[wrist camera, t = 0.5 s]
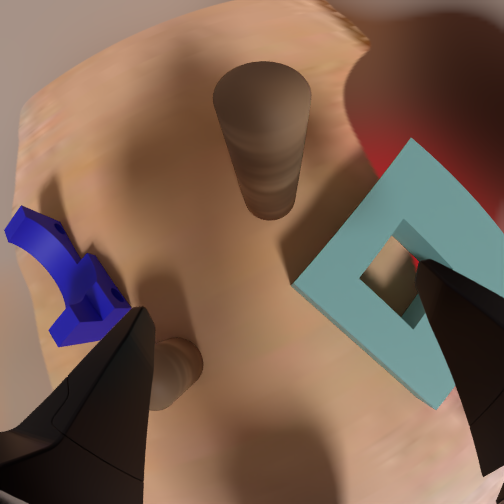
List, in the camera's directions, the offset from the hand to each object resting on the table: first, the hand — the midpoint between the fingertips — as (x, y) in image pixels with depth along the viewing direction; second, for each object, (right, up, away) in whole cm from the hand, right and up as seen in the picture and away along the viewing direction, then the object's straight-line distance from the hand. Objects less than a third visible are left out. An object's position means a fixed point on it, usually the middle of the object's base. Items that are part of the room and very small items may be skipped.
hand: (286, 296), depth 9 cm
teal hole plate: (+12, -1, +12) cm, 17 cm away
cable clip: (-17, 0, +15) cm, 22 cm away
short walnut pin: (-7, -7, +13) cm, 16 cm away
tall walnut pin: (0, +6, +14) cm, 15 cm away
